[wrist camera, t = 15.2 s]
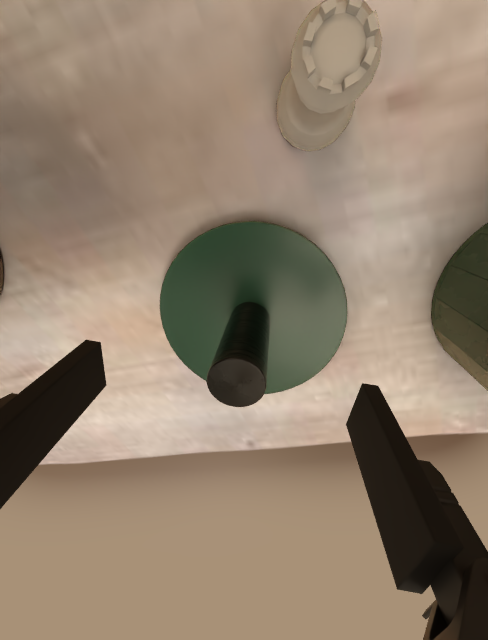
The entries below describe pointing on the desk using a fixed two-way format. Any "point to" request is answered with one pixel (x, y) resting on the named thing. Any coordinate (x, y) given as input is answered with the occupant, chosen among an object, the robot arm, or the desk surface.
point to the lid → (253, 310)
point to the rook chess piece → (328, 72)
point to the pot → (465, 306)
